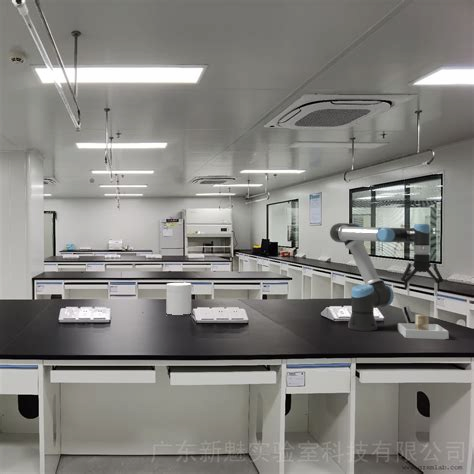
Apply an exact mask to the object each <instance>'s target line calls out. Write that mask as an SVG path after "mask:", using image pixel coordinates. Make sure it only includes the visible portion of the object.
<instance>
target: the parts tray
mask: <svg viewBox="0 0 474 474" xmlns="http://www.w3.org/2000/svg"><path fill="white" fill-rule="evenodd" d="M397 331H398V333H400V334H401V335H402V336H403V337H404V338H405V339H419V340H422V339H423V340H445V339H450V337H449V330H447V329H446V328H444V327H442V326H441V325H439V324H437V323H436V324H435V323H428V330H416V324H415V323H412V322H409V323H407V322H406V323H405V322H404V323H402V322H398V323H397Z"/></svg>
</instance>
